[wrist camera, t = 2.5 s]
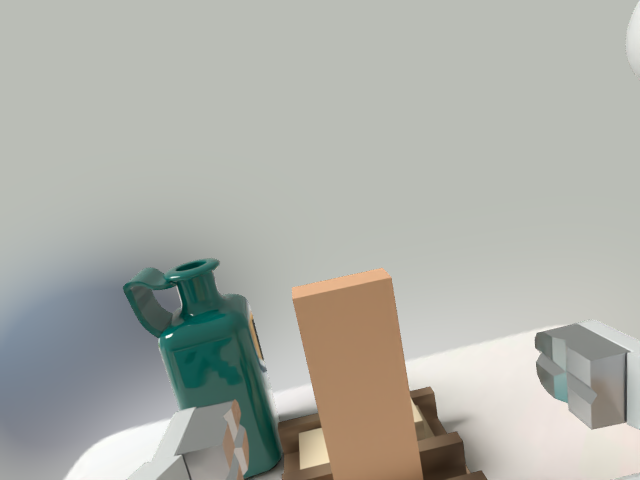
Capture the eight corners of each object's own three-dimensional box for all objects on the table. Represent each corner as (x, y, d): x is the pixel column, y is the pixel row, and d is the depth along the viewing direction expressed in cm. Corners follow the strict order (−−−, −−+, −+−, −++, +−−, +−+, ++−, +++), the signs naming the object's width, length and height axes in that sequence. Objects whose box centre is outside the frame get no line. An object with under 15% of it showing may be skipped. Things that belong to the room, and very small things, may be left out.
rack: (435, 423, 37) (427, 369, 35) (522, 574, 23) (515, 496, 22) (287, 459, 36) (273, 405, 35) (286, 637, 22) (264, 560, 21)
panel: (421, 509, 27) (382, 267, 23) (432, 536, 25) (391, 277, 21) (346, 528, 27) (292, 287, 22) (351, 557, 25) (292, 299, 20)
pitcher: (279, 412, 43) (235, 244, 38) (285, 468, 35) (231, 262, 30) (199, 437, 42) (143, 265, 37) (186, 501, 33) (113, 290, 29)
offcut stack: (420, 426, 35) (414, 382, 34) (442, 468, 30) (435, 419, 29) (303, 454, 34) (293, 411, 33) (306, 501, 29) (294, 453, 28)
